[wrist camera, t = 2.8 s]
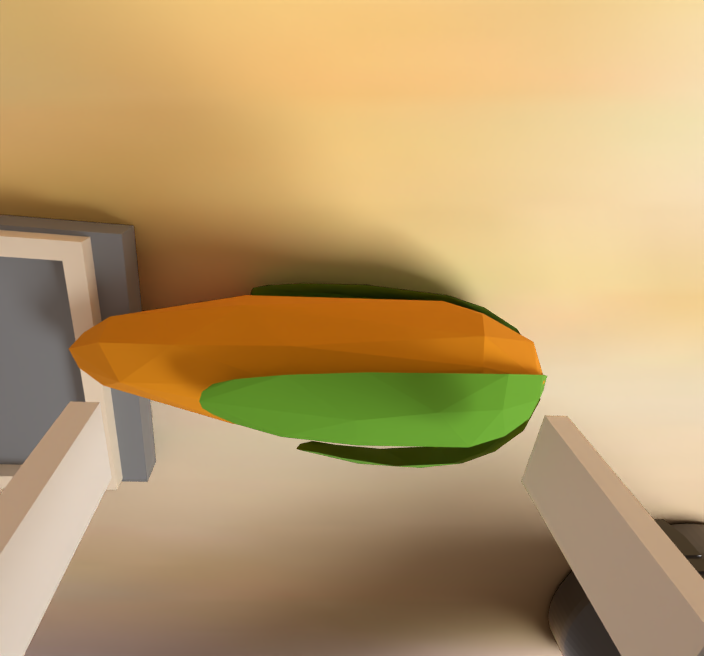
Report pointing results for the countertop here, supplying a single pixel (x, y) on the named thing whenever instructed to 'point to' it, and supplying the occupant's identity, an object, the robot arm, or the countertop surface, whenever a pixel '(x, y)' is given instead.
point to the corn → (332, 369)
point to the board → (65, 336)
